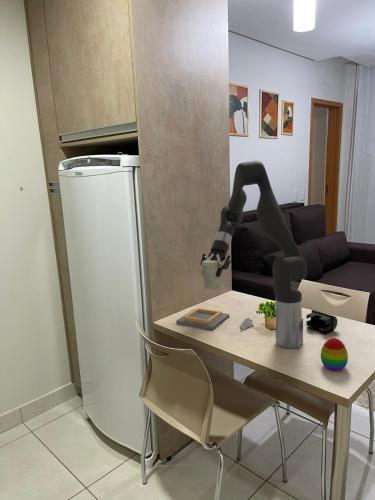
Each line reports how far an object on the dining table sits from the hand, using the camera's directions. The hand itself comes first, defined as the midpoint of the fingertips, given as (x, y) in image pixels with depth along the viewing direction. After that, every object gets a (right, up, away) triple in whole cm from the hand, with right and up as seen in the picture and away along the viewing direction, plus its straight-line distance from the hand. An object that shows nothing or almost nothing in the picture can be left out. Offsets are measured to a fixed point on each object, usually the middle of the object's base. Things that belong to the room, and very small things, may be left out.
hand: (210, 275), depth 164 cm
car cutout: (+11, -22, -8) cm, 27 cm away
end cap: (+44, -21, -12) cm, 50 cm away
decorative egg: (+38, -27, -41) cm, 62 cm away
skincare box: (+1, -6, +2) cm, 6 cm away
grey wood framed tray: (-3, -20, +3) cm, 21 cm away
